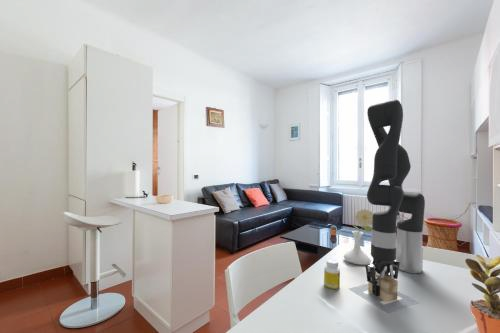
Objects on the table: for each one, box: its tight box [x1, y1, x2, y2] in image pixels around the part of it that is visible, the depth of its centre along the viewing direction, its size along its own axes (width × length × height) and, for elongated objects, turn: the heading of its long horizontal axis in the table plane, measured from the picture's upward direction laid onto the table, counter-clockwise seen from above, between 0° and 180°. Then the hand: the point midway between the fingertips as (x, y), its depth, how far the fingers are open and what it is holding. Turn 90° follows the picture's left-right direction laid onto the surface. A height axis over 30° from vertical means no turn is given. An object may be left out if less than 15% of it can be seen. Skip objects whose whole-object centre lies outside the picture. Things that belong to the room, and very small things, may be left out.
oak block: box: [367, 272, 399, 302], centre depth 80 cm, size 5×7×6 cm
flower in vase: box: [343, 208, 374, 266], centre depth 109 cm, size 13×11×25 cm
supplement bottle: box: [323, 258, 341, 291], centre depth 86 cm, size 5×5×10 cm
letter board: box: [348, 283, 420, 314], centre depth 80 cm, size 15×15×1 cm
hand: (382, 293), depth 80 cm, fingers open, 5 cm apart
